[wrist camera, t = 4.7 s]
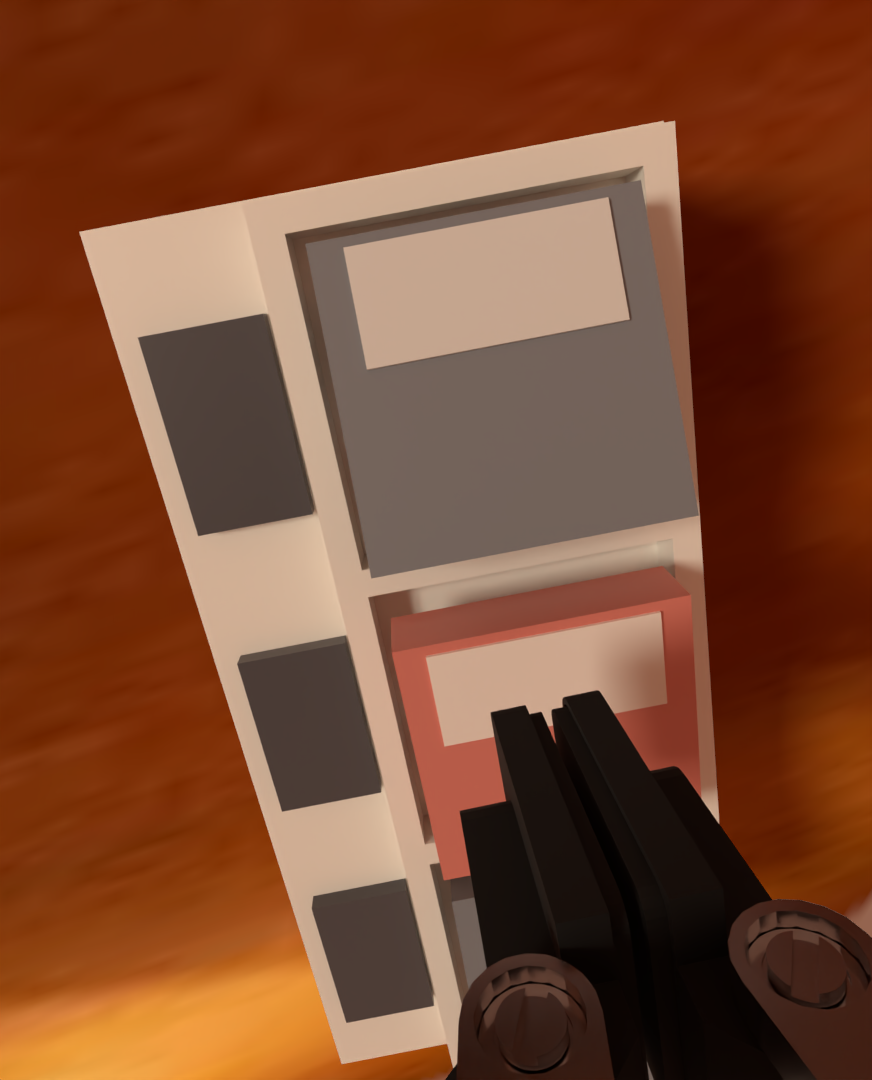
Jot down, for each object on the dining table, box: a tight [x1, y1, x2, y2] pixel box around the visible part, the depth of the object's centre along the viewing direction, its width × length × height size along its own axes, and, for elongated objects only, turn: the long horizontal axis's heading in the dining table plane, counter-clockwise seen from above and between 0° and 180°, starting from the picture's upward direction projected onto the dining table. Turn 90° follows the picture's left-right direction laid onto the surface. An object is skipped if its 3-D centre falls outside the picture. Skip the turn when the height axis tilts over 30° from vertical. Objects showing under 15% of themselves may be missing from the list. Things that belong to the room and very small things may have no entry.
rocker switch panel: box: [80, 121, 719, 1068], centre depth 18 cm, size 22×11×6 cm, turn 10°
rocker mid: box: [391, 566, 701, 880], centre depth 14 cm, size 6×6×2 cm
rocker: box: [305, 180, 699, 579], centre depth 12 cm, size 6×6×2 cm
